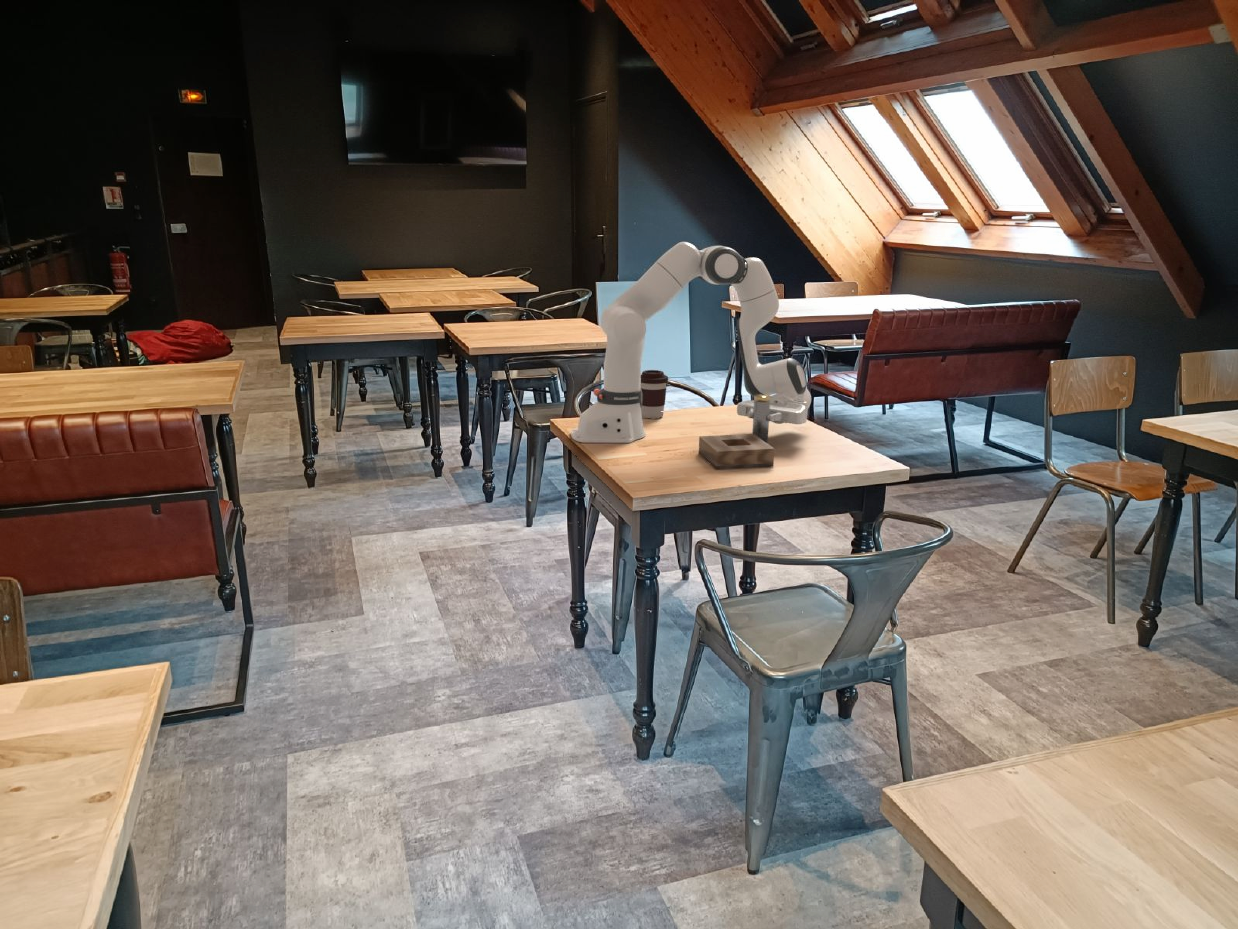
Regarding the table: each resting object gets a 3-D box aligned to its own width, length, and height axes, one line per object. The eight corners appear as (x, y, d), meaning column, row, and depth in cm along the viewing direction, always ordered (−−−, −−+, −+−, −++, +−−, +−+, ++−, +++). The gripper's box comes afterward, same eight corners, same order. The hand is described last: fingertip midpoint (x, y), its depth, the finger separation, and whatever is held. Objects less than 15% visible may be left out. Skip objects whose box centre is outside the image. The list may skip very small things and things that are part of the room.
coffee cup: (631, 415, 295) (632, 370, 291) (657, 412, 299) (658, 368, 295) (646, 421, 287) (646, 375, 282) (672, 418, 291) (673, 373, 287)
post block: (716, 469, 235) (717, 451, 234) (698, 453, 250) (699, 436, 249) (773, 466, 238) (774, 448, 237) (752, 450, 253) (753, 433, 252)
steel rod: (754, 446, 254) (757, 398, 250) (749, 441, 258) (752, 394, 254) (770, 445, 255) (773, 397, 251) (764, 441, 259) (767, 394, 255)
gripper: (749, 393, 269) (727, 401, 258) (812, 402, 258) (793, 411, 247) (747, 413, 271) (726, 422, 260) (811, 423, 260) (792, 433, 249)
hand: (759, 417), depth 254 cm, fingers closed on steel rod, 4 cm apart
